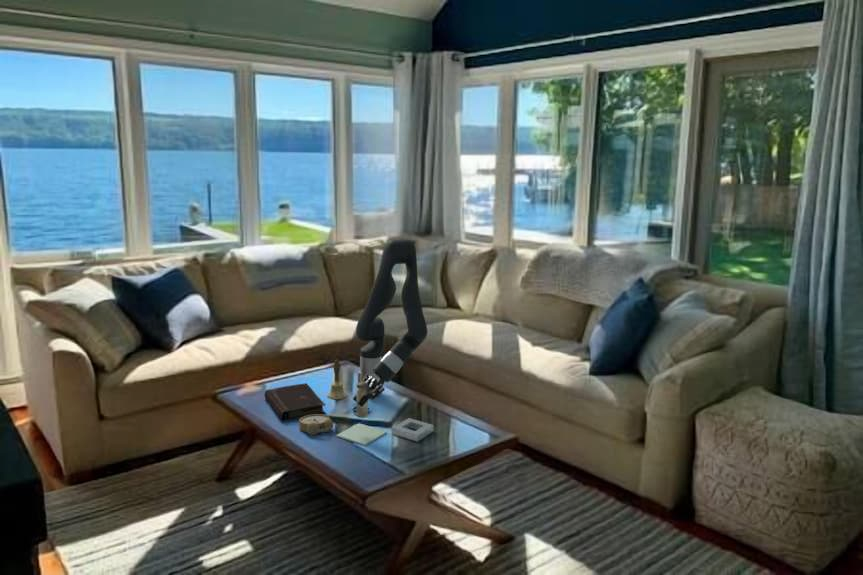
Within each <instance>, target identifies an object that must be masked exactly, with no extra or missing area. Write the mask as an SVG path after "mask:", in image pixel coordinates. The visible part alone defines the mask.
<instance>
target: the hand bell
mask: <svg viewBox="0 0 863 575" xmlns="http://www.w3.org/2000/svg"><path fill="white" fill-rule="evenodd" d="M340 365H341V364H340V362H339V359H334V363H333V372H334V382H332V383H331V388H330V390H329V392H328V393H327V395H326V397H327V398H328V399H330V400H342V399H343V400H344V399H346V398H347V397H348V394H347V393H346V392H345V390H344V387H343V383H342V382H340V377H339V374H340V371H341V370H340V369H341V366H340Z"/></svg>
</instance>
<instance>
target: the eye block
mask: <svg viewBox="0 0 863 575" xmlns="http://www.w3.org/2000/svg"><path fill="white" fill-rule="evenodd" d="M433 432H434V424H430V423H427V422H424V421H420V420H417V419H413V418H410V417H409V418H407V419H404V420H403V421H401V422H400V423H398V424H396V425H394V426H392V427H391V434H392V435H393V436H396V437H401V438H404V439H407V440H409V441H413V442H419V441H421V440H422V439H424V438H425V437H426V436H428V435H429V434H431V433H433Z"/></svg>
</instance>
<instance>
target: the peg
mask: <svg viewBox="0 0 863 575" xmlns="http://www.w3.org/2000/svg"><path fill="white" fill-rule="evenodd" d="M367 388H368V383H366V382H359V383H358V382H357V383H356V394H357V402H356V407H357V415H356V417H357V418H360V419H365V418H367V417H369V415H368V414H369V413H368V408H369V407H368V406H369V400H368V401H367V402H366V403H365V404H364V405H363V406H362V407H361V406H360V405H359V404H358V401H359V400H360V399H361V398H362V397H363V396H364V395H365V393H366V392H367Z"/></svg>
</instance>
